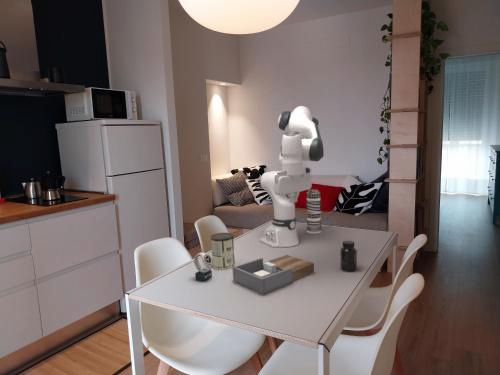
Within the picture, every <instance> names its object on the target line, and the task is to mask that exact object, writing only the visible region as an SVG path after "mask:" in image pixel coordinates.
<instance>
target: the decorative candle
mask: <svg viewBox="0 0 500 375" xmlns="http://www.w3.org/2000/svg"><path fill="white" fill-rule="evenodd" d="M305 206H306V207H305V208H306V213H307V217H306V224H307V225H306V232H307V233H308V234H320V233H322V220H321V219H322V218H321V213H322V200H321V192H320V190H318V189H309V190H308V191H307V192H306V200H305Z"/></svg>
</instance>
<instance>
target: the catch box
mask: <svg viewBox="0 0 500 375" xmlns="http://www.w3.org/2000/svg"><path fill="white" fill-rule="evenodd" d="M263 263H264V258H263V257H260V258H257V259H253V260H250V261H247V262H245V263H242V264H238V265H236V266H235V265H234V266H233V267H232V282H233V283H236V284H238V285H240V286H243V287H245V288H247V289H249V290H250V291H253V292H255V293H258V294H260V295H262V296H264V295H266V294H268V293H271V292H273V291H276V290H278V289H281V288H283V287H286V286H288V285H292V284H293V282H294V281H293V275H292V268H288V269H285V270H282V271H279V270H277V269H276V273H274V274H272V275H269V276H266V277H264V278H261V277H259V276H256V275H254V274H253V273H255V272H258V271H261V270H264V265H263Z"/></svg>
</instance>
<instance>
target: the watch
mask: <svg viewBox="0 0 500 375" xmlns="http://www.w3.org/2000/svg"><path fill="white" fill-rule="evenodd" d="M199 256H200V257H201V261H202V264H203V265H204V266H205V267H206V268H202V266H201V264H200V261H199V259H198V258H199ZM193 264H194V266H195V268H196V270H197V271H196V272H195V273H194V276H195V277H194V278H195V281H197V282H201V283H205V282H206V281H208V280H210V279H211V278H213V272H212V271H213V270H212V268H213V260H212V255H210V254H209V253H206V252H199V253H197V254H196V255H195V256H194V258H193Z"/></svg>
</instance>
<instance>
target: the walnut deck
mask: <svg viewBox="0 0 500 375" xmlns="http://www.w3.org/2000/svg"><path fill="white" fill-rule="evenodd" d="M266 262H270V263H273V264H275V265H276V269H277V270H279V271H282V270H285V269H288V268H292V275H293V282H294V281H296V280H298V279H301V278H304V277H306V276H309V275H311V274H314V273H315V263H314V262H312V261H307V260H305V259H302V258H300V257H299V258H298V257H296V256H295V257H294V256H291V255H289V254H285V255H282V256H279V257H276V258H274V259H269V260H267V261H263V263H266Z"/></svg>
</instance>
